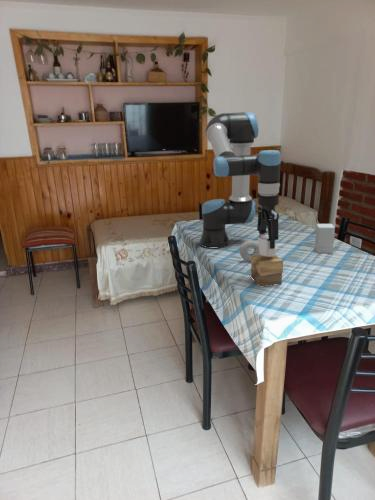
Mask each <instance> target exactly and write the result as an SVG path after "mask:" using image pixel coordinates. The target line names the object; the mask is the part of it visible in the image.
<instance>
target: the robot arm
mask: <svg viewBox="0 0 375 500" xmlns="http://www.w3.org/2000/svg"><path fill="white" fill-rule="evenodd" d="M205 136H206V140H207V141H208V142H209V143H210V144H211V147H212V151H213V153H214V156H215V157H214V159H213V162H212V163H213V165H212V166H213V174H214V176H216V177H221V178H226V177H231V178H232V181H231V195H230V196H229V197H228V201H226V200H225V199H224V198H216V199H210V200H207V201H205V202H203V204H202V212H201V213H202V232H201V237H200V239H199V244H201V245H203V246H206V247H223V248H225V247H224V246H226V247H228V246H229V245H228V244H229V242H230V241H229V237H228V234H227V231H226V225H239V224H241V225H244V224H250V223H252V221H254V219H255V215H256V202H255V201H254V200H253V198H252V196H251V195H250V181H251V180H250V179H251V178H250V176H258V182H257V193H258V195H257V204H258V205H259V206H258V207H257V223H256V224H257V225H256V227H257V228H256V230H257V232H258V234H259V235H262V234H268V236H269V239H267V241H268V242H267V257H270V256H275V255H276V254H275V253H276V244H275V240H276V241H278V240H279V217H280V213H279V212H277V213H276V206H278V205H279V202H280V195H279V193H280V187H281V184H280V178H281V162H282V159H281V151H280V150H278V149H277V150H275V149H269V150H267V149H265V150H260V151H259V153H256V154H251V147H252V145H253V144H254V143H255V139H257V138H258V136H259V123H258V118H257V116H256V114H255V113H254V112H249V111H241V112H229V113H228V112H226V113H225V112H224V113H219V114H217V115H215V116H213V117H212V118H211V119H210V120H209V121H208V123H207V125H206V127H205ZM201 245H200V246H201ZM227 245H228V246H227Z"/></svg>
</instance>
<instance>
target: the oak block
mask: <svg viewBox="0 0 375 500" xmlns="http://www.w3.org/2000/svg"><path fill="white" fill-rule="evenodd" d="M251 268H252V269H253V270H255V271H256V272H257V273H258V274H260V275H261V276H264V275H271V274H277V273H282V274H283V271H284V260H283V259H282V258H280V257H279V256H278V255H276V254H275V256H270V257H267V256H262V255H255V256H251V261H250V269H251Z"/></svg>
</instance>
